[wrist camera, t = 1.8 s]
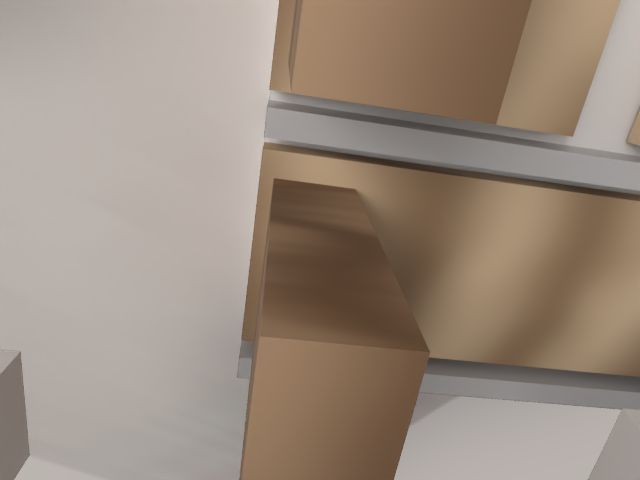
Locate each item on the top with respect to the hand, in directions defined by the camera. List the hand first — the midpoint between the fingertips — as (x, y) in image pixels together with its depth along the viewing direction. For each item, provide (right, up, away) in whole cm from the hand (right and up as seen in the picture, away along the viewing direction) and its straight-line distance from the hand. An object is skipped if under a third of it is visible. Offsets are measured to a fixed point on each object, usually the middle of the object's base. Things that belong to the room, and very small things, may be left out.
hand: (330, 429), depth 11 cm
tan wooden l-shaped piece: (+9, +3, +10) cm, 14 cm away
